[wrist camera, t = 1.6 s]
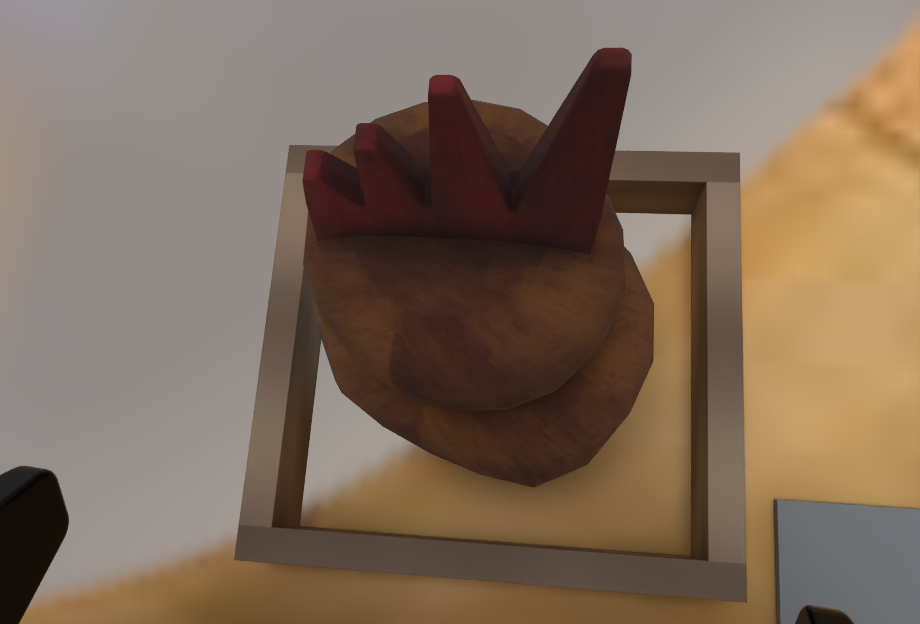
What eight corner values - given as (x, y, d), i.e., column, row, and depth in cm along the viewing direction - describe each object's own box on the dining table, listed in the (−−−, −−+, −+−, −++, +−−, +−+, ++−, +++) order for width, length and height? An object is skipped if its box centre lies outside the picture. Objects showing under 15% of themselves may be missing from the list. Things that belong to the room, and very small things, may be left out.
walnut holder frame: (725, 593, 19) (747, 602, 17) (266, 555, 21) (234, 560, 19) (721, 188, 22) (739, 152, 20) (312, 178, 23) (289, 145, 21)
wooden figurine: (661, 322, 21) (900, -93, 7) (572, 524, 20) (631, 539, 6) (435, 226, 23) (234, -289, 8) (341, 410, 22) (-79, 193, 7)
